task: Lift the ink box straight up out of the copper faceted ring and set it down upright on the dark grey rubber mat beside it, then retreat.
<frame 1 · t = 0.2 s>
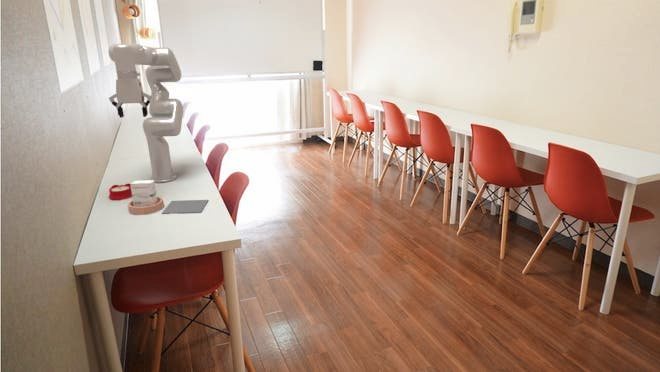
hand: (133, 116, 187), 36 cm above the table, tool pointing down, fingers open, 9 cm apart
copper faceted ring: (146, 208, 185), on the table
mat: (185, 207, 186), on the table
ink box: (146, 208, 185), resting in copper faceted ring
alarm clock: (122, 195, 202), on the table
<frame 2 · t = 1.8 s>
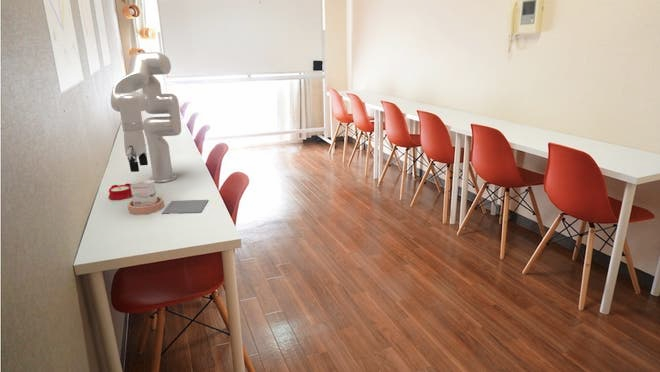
hand: (139, 168, 179), 18 cm above the table, tool pointing down, fingers open, 9 cm apart
nothing on the table moved.
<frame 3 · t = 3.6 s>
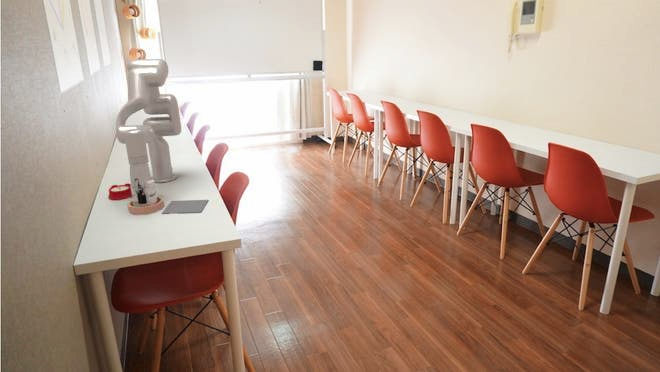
hand: (145, 200, 184), 3 cm above the table, tool pointing down, fingers closed on ink box, 5 cm apart
ink box: (146, 208, 185), resting in copper faceted ring, touching gripper
everything else where it was.
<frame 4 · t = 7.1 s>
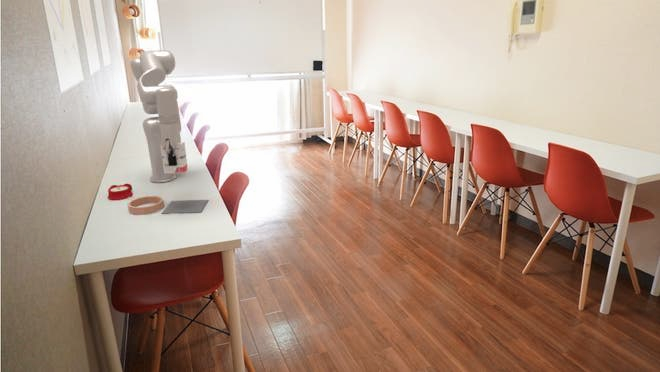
hand: (175, 163, 179), 19 cm above the table, tool pointing down, fingers closed on ink box, 5 cm apart
ink box: (176, 171, 181), point 16 cm above the table, touching gripper
everything else where it was.
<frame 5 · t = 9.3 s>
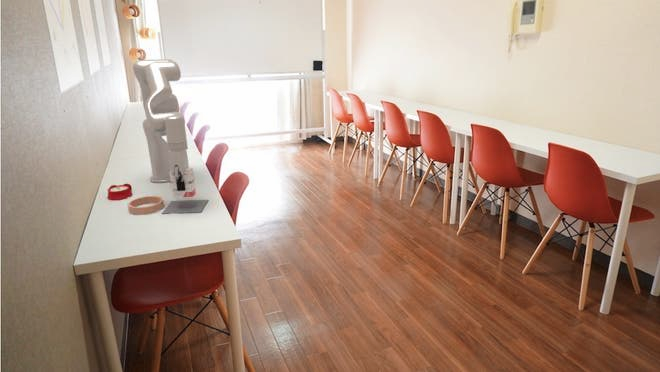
hand: (183, 187, 183), 9 cm above the table, tool pointing down, fingers closed on ink box, 5 cm apart
ink box: (184, 196, 184), point 5 cm above the table, touching gripper
everything else where it was.
when the fingers open (5 cm above the table, at t = 10.8 s): ink box drops 1 cm, resting on mat.
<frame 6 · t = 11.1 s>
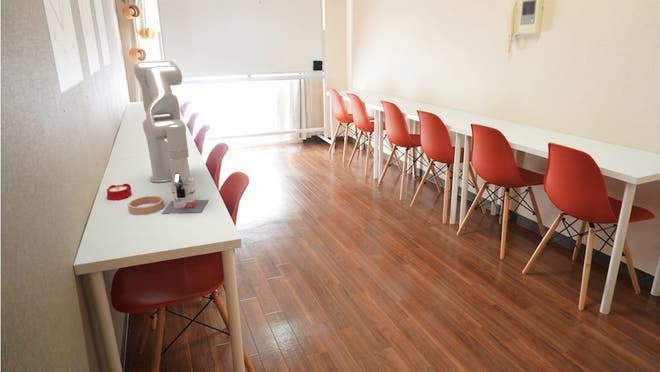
hand: (184, 194, 184), 6 cm above the table, tool pointing down, fingers open, 7 cm apart
ink box: (185, 206, 186), resting on mat
everything else where it was.
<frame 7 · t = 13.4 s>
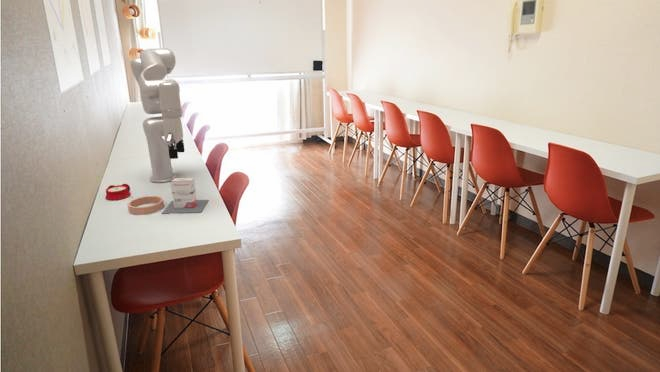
hand: (177, 155, 179), 22 cm above the table, tool pointing down, fingers open, 9 cm apart
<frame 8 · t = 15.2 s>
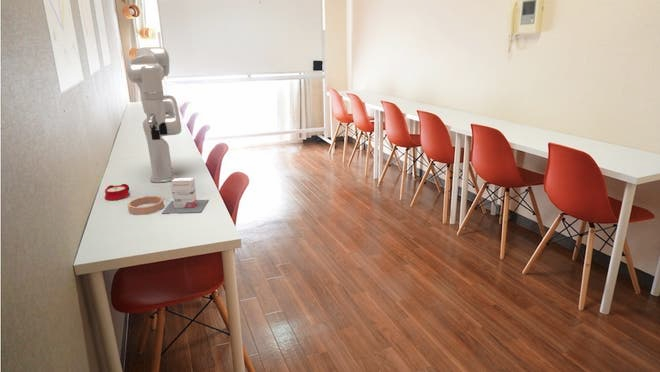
hand: (160, 137, 186), 28 cm above the table, tool pointing down, fingers open, 9 cm apart
at the end: ink box inside the target area on the mat (0.6 cm from its centre), point 0.2 cm above the mat's base; ink box tilted 0°; the gripper is holding nothing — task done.
